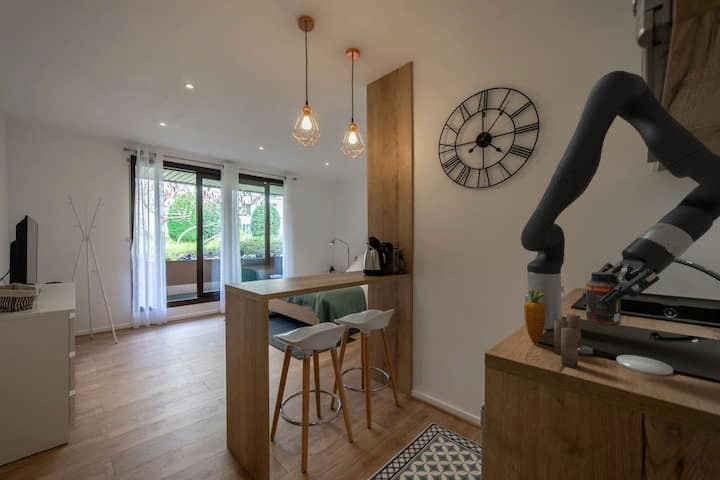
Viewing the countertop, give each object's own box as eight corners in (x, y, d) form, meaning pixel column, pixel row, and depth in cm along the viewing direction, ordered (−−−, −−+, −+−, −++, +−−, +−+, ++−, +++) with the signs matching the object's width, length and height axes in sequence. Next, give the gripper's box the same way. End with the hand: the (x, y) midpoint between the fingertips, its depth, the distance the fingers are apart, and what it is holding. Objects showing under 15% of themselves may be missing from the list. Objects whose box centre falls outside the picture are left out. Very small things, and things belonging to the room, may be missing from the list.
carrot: (536, 340, 82) (535, 286, 82) (550, 347, 77) (549, 289, 77) (520, 341, 81) (519, 287, 81) (533, 348, 76) (532, 290, 76)
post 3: (558, 363, 67) (558, 328, 67) (567, 361, 68) (566, 326, 68) (572, 369, 64) (571, 332, 64) (581, 366, 65) (580, 330, 65)
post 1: (551, 352, 73) (551, 320, 73) (559, 350, 75) (558, 318, 75) (563, 356, 71) (563, 323, 71) (571, 354, 72) (571, 321, 72)
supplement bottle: (627, 327, 63) (627, 274, 63) (595, 326, 64) (595, 274, 64) (609, 319, 69) (609, 271, 68) (580, 318, 70) (580, 270, 70)
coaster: (607, 361, 67) (607, 359, 67) (629, 355, 71) (629, 352, 71) (659, 378, 59) (659, 375, 59) (682, 370, 63) (682, 367, 63)
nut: (588, 350, 74) (587, 346, 74) (596, 355, 70) (595, 350, 70) (570, 350, 75) (569, 345, 75) (577, 355, 71) (576, 350, 71)
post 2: (564, 344, 78) (563, 314, 78) (571, 343, 80) (570, 313, 80) (576, 348, 76) (575, 317, 76) (583, 346, 77) (583, 316, 77)
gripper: (619, 236, 72) (565, 284, 74) (669, 237, 57) (600, 296, 60) (644, 257, 71) (589, 305, 73) (702, 264, 57) (630, 323, 59)
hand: (594, 301), depth 66 cm, fingers closed on supplement bottle, 6 cm apart
